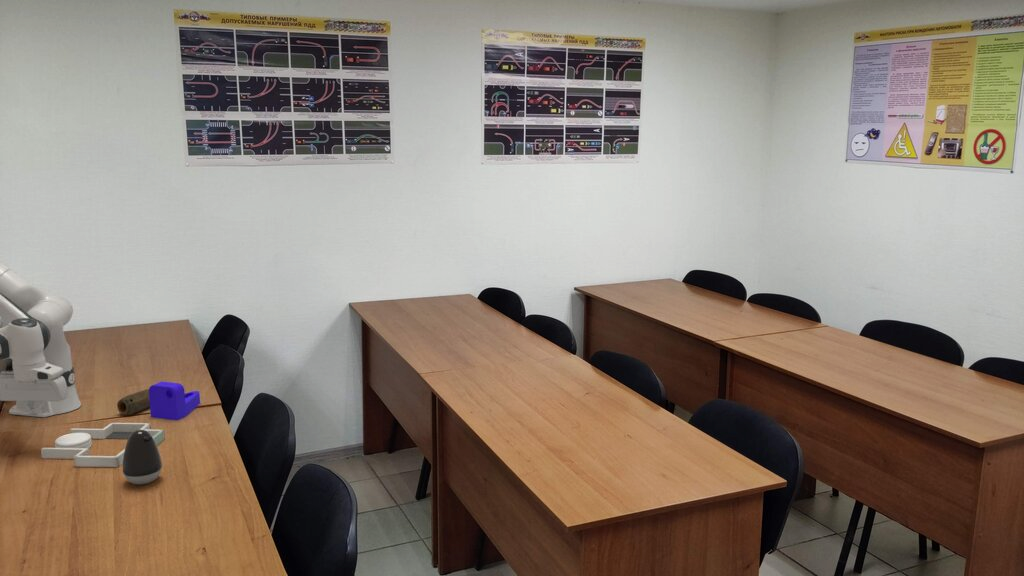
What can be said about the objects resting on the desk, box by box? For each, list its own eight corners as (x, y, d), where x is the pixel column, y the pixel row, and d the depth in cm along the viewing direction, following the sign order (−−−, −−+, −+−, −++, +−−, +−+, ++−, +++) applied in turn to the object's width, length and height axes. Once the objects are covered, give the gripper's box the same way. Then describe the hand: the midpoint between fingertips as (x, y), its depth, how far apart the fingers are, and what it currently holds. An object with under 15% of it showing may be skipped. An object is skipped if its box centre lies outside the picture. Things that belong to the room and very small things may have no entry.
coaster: (99, 444, 256) (98, 434, 255) (73, 456, 247) (71, 445, 246) (74, 440, 259) (73, 430, 259) (48, 452, 250) (46, 441, 249)
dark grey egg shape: (138, 491, 223) (134, 439, 220) (116, 483, 228) (111, 432, 225) (171, 478, 231) (167, 428, 228) (148, 470, 237) (144, 421, 234)
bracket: (177, 420, 277) (174, 387, 275) (151, 417, 280) (148, 384, 278) (210, 403, 294) (208, 372, 292) (185, 400, 297) (183, 370, 295)
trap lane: (31, 465, 239) (29, 456, 239) (82, 430, 267) (81, 422, 266) (131, 467, 239) (130, 457, 238) (172, 432, 266) (171, 423, 266)
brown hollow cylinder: (132, 418, 279) (131, 399, 278) (116, 416, 281) (114, 397, 280) (163, 404, 293) (161, 386, 292) (147, 402, 295) (145, 384, 294)
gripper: (-10, 373, 245) (-5, 417, 248) (56, 374, 245) (61, 418, 247) (3, 367, 252) (9, 410, 254) (68, 368, 251) (72, 410, 253)
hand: (35, 414), depth 251 cm, fingers closed
